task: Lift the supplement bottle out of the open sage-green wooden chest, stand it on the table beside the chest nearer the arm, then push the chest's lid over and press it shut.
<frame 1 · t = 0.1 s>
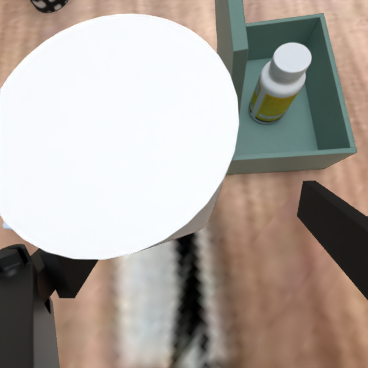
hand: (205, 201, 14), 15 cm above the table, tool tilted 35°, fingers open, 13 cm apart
lid: (223, 30, 18), point 14 cm above the table, hinge at 95.0°
supplement bottle: (265, 110, 31), resting on chest
cylindrical container: (187, 208, 30), on the table
chest: (264, 111, 32), on the table
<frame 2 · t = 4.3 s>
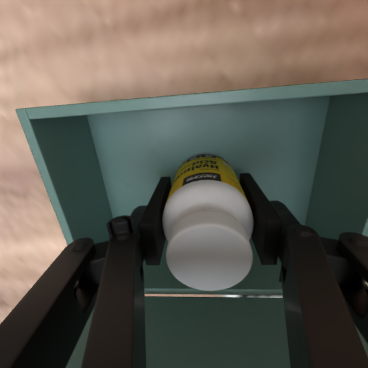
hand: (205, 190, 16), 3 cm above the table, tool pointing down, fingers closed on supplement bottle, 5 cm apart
supplement bottle: (204, 179, 18), resting on chest, touching gripper
chest: (204, 178, 18), on the table
when the fingers open (2 cm above the table, at t = 11.7 s): supplement bottle stays where it is, on the table.
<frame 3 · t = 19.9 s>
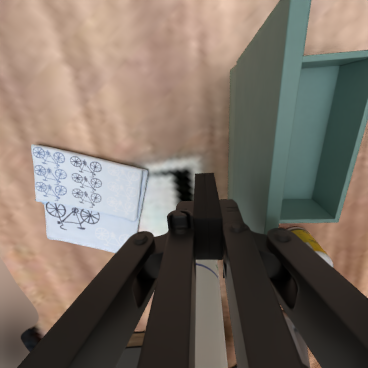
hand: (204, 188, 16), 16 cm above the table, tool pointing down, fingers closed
folded bicycle print towel: (92, 204, 37), on the table
lid: (246, 180, 17), point 14 cm above the table, hinge at 93.0°, touching gripper
supplement bottle: (293, 237, 36), on the table
cylindrical container: (194, 225, 37), on the table
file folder: (135, 366, 58), on the table
chest: (276, 142, 30), on the table
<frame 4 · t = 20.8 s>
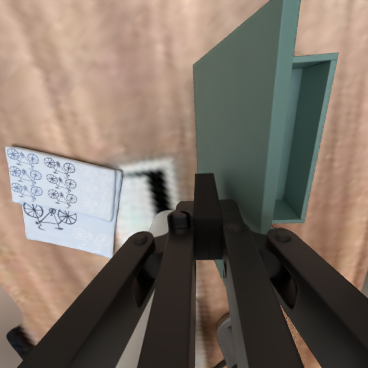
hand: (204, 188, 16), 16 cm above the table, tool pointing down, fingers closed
folded bicycle print towel: (69, 205, 37), on the table
lid: (219, 180, 18), point 14 cm above the table, hinge at 76.2°, touching gripper
cylindrical container: (171, 225, 37), on the table
chest: (245, 143, 30), on the table
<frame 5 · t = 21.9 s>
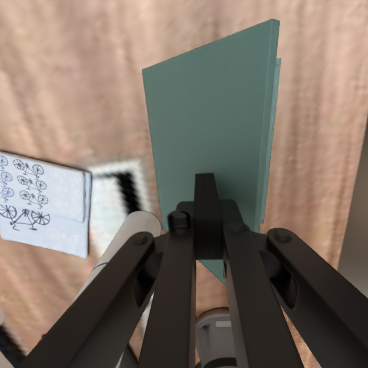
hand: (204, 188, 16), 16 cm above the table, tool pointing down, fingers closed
folded bicycle print towel: (43, 206, 38), on the table
lid: (192, 175, 19), point 13 cm above the table, hinge at 50.4°
cylindrical container: (143, 226, 38), on the table
chest: (209, 145, 31), on the table
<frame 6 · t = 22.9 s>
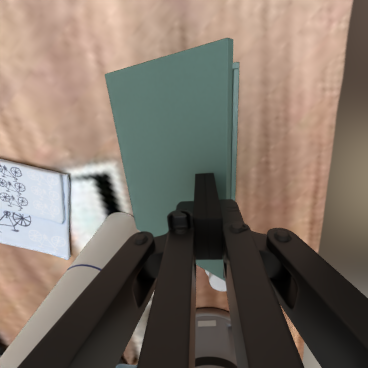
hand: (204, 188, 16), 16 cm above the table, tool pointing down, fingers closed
folded bicycle print towel: (24, 207, 38), on the table
lid: (164, 172, 21), point 12 cm above the table, hinge at 37.3°, touching gripper
supplement bottle: (217, 238, 38), on the table
cylindrical container: (123, 227, 38), on the table
chest: (183, 147, 31), on the table
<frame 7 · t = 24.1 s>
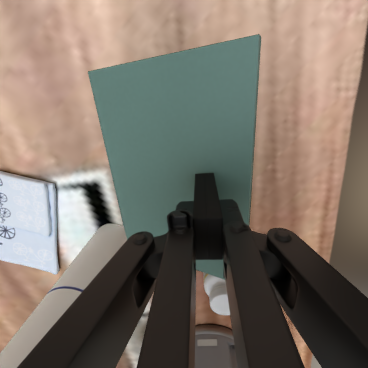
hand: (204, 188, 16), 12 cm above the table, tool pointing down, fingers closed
folded bicycle print towel: (7, 218, 35), on the table
lid: (169, 180, 19), point 10 cm above the table, hinge at 23.9°, touching gripper
supplement bottle: (217, 251, 35), on the table
cylindrical container: (115, 239, 35), on the table
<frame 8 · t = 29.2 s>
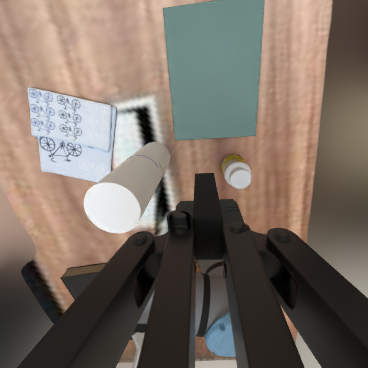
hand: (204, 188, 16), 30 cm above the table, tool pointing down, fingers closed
folded bicycle print towel: (75, 140, 47), on the table
lid: (213, 77, 33), point 7 cm above the table, hinge at 2.2°
supplement bottle: (232, 164, 47), on the table
cylindrical container: (156, 156, 47), on the table
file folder: (118, 298, 69), on the table
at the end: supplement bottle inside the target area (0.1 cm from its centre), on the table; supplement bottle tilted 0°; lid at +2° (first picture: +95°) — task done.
